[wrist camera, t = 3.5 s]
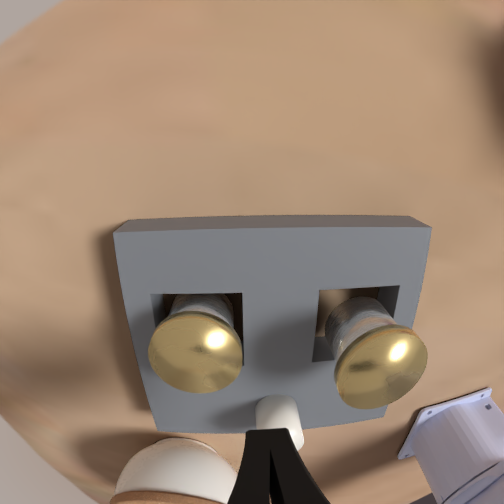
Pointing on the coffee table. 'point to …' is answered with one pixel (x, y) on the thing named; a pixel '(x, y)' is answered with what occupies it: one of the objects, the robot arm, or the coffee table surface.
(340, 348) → the knob
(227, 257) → the mount plate
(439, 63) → the coffee table surface
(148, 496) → the lidded jar
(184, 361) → the knob
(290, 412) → the potentiometer
